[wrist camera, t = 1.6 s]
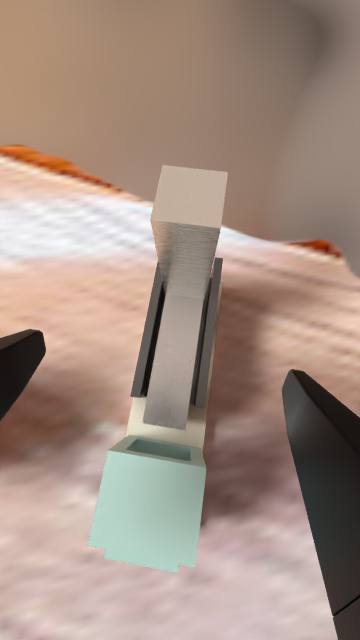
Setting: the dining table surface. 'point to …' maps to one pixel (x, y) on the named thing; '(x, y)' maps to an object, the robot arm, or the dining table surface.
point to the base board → (194, 418)
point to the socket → (150, 504)
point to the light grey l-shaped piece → (182, 283)
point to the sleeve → (203, 343)
